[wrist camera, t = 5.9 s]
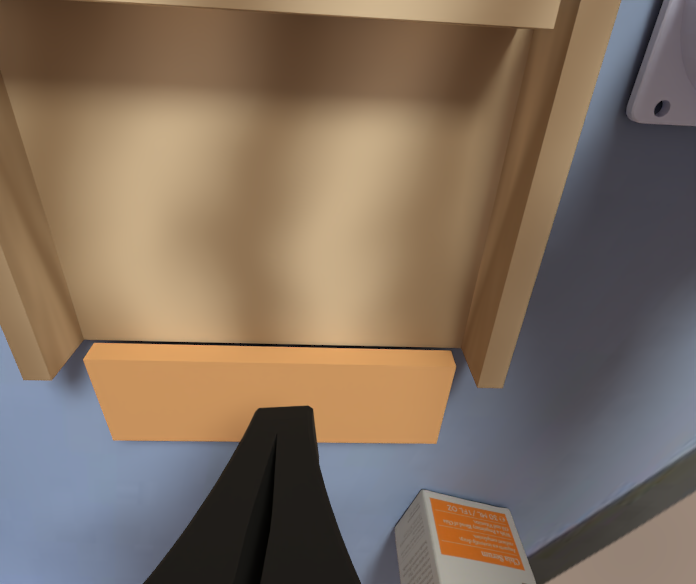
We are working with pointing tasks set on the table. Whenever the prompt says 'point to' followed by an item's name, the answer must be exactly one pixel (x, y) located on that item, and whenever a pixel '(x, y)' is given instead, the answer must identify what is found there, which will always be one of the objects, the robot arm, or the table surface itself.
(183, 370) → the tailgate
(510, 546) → the skincare box
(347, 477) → the table surface
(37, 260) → the tray
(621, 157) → the table surface
